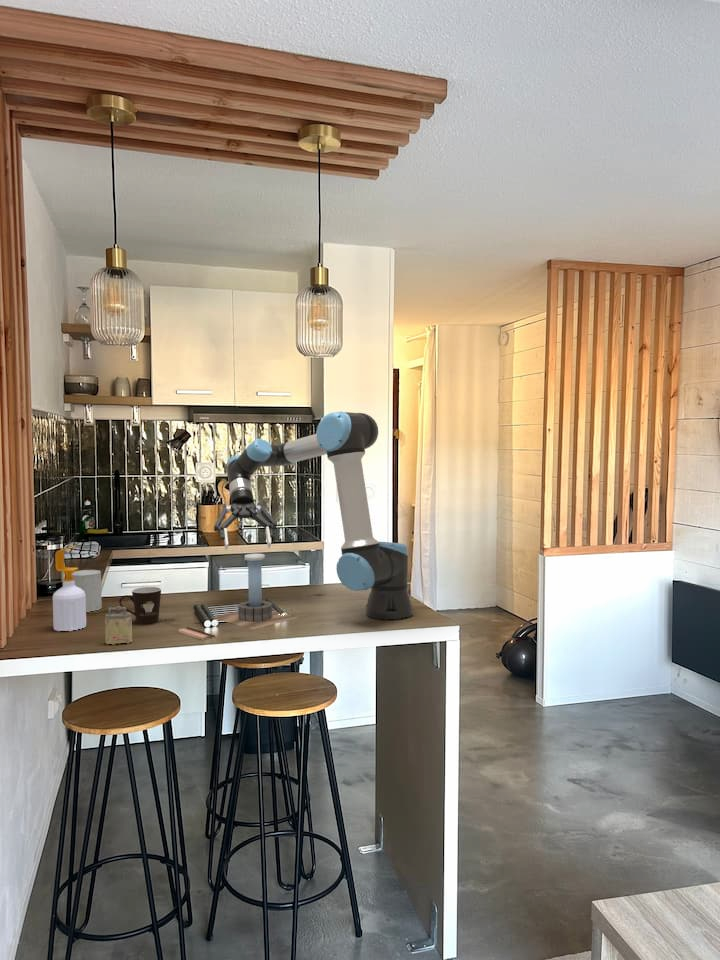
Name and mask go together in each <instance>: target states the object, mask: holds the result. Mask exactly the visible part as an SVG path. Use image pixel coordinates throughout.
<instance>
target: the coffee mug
mask: <svg viewBox="0 0 720 960" xmlns="http://www.w3.org/2000/svg"><path fill="white" fill-rule="evenodd" d="M131 594H132V595H123V596H122V597H120V599H119V601H118V603H119V606H121V607H124V605H122V601H123V599H125V598H129V599H130V600H131V602H132V603H133V608H134V611H132V610H130V609H128V608H126V612H129V613H131V615H134V617H135V623H136V624H137V625H141V626H148V625H154V624H157V623H159V618H160V617H159V616H160V606H161V596H162V588H161V587H159V586H142V587H137V588H134V589H131Z"/></svg>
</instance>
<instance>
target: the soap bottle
mask: <svg viewBox="0 0 720 960" xmlns="http://www.w3.org/2000/svg"><path fill="white" fill-rule="evenodd" d="M75 547H77V546H76V545H72V546H68V547H65V548H62V549H58V550H56V552H55V554H54V555H55V556H54V557H55V558H54V559H55V560H54V561H55V562H54V563H55V570H56V571H57V572H63V575H65V577H64V578H62V587H60V588H59V589H56V591H54V592H53V594H52V615H53V616H52V618H53V620H52V621H53V625H52V626H53V630H54V631H56V632H60V631H69V632H74V631H73V630H76V631H79V630H78V629H80V630H83V629H85V628H86V627H87V613H86V595H85V592H84V591H83V590H82V589H81V588H79V587H77V586H75V578H73V577H72V573H74V571H79V567H66V565H65V552H66V551H67V550H70V549H73V548H75ZM82 628H83V629H82Z"/></svg>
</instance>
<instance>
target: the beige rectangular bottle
mask: <svg viewBox="0 0 720 960" xmlns="http://www.w3.org/2000/svg"><path fill="white" fill-rule="evenodd" d="M126 609H127V607H125V606H123V607H121V606H120V605H117V606H116V607H111V606H109V607H108V609H107V611H108V613H106V614H105V615H104V616H105V617H104V629H105V630H104V631H105V642H104V643H106V644H105V645H108V644H112V645H116V644H115V643H127V644H131V643H133V627H132V626H133V624H132V621H133V619H132V613H130V612H128V611H126ZM112 611H116V612H112ZM121 611H123V612H121ZM130 642H131V643H130Z"/></svg>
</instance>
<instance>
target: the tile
mask: <svg viewBox="0 0 720 960" xmlns="http://www.w3.org/2000/svg"><path fill="white" fill-rule="evenodd" d="M178 633H180V634H182V635H185V636H189V637H190V638H191V637H192V638H195V639H198V640H200V639H201V640H200V641H205V639H206V640H209V638H210V639H212V637H214V638H216V637H215V636H216V635H215V634H210V633H206V632H204V631H201V630H198V629H194V628H191V627H189V626H188V627H183V628H178Z"/></svg>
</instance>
